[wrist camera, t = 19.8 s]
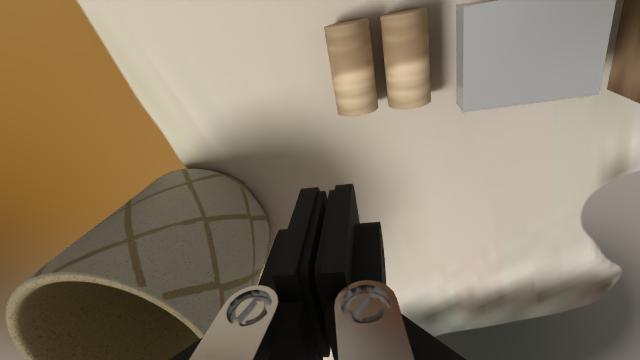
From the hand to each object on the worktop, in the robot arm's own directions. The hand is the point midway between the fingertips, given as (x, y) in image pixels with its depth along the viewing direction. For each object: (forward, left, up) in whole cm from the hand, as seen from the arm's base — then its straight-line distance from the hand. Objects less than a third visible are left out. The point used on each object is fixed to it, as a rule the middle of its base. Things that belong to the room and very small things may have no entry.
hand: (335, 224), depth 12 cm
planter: (+17, -22, -27) cm, 39 cm away
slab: (0, +13, -23) cm, 26 cm away
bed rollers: (0, +8, -27) cm, 28 cm away
